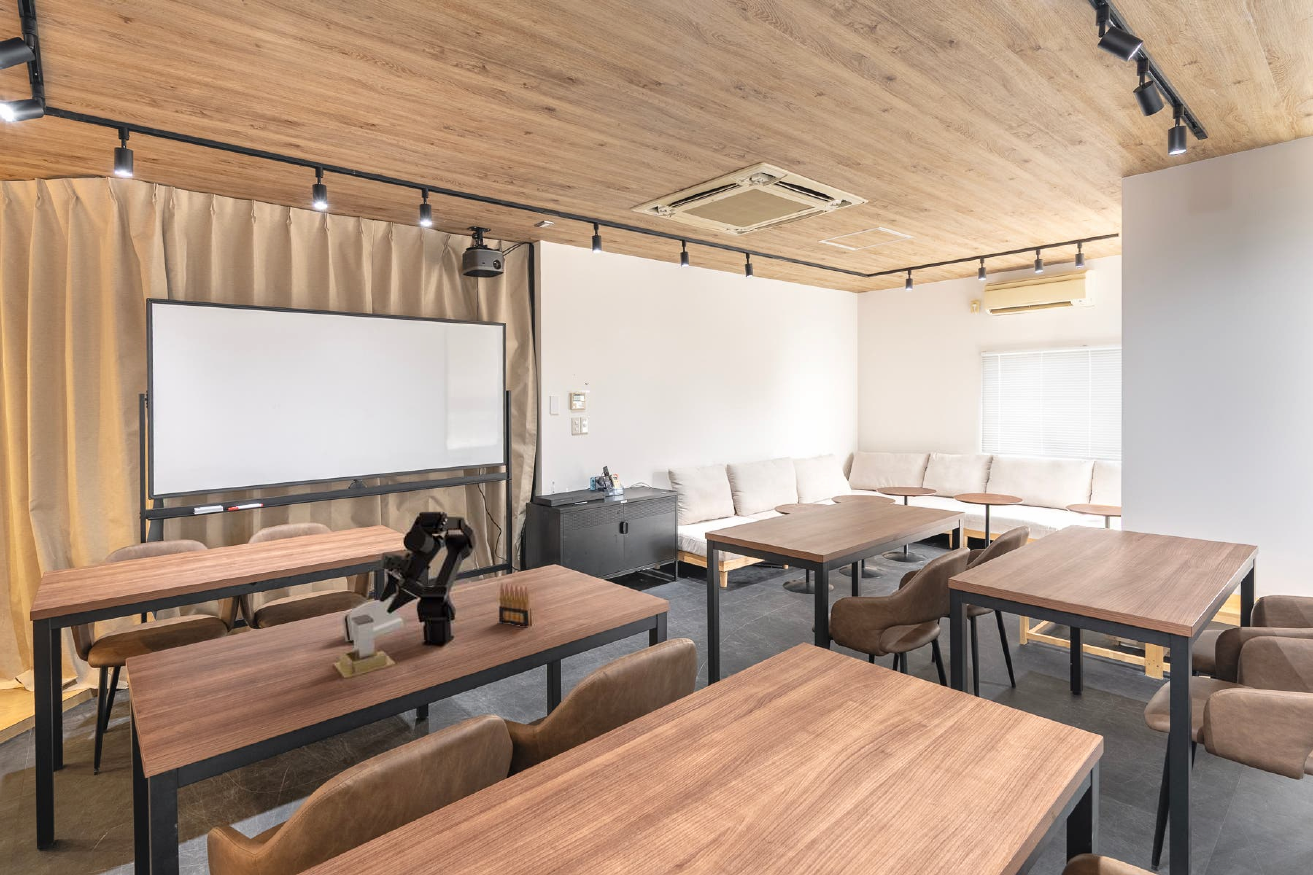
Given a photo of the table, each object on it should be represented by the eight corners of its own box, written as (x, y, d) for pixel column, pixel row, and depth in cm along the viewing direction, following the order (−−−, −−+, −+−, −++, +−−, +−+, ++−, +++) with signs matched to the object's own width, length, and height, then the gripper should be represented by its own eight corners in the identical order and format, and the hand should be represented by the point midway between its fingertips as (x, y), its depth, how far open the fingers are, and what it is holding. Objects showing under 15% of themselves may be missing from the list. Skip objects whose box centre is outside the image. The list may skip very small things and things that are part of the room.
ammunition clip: (532, 625, 191) (530, 585, 190) (528, 627, 189) (527, 587, 188) (502, 620, 195) (501, 581, 194) (498, 622, 193) (497, 583, 192)
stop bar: (369, 657, 168) (367, 614, 167) (375, 664, 164) (373, 619, 163) (354, 661, 165) (351, 617, 165) (359, 668, 161) (357, 623, 160)
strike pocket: (382, 652, 172) (382, 641, 172) (395, 664, 164) (394, 653, 164) (333, 664, 165) (333, 654, 165) (344, 678, 157) (344, 667, 156)
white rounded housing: (356, 644, 178) (346, 609, 179) (346, 647, 180) (336, 612, 181) (406, 625, 193) (396, 592, 194) (396, 627, 195) (387, 595, 196)
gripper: (389, 532, 176) (351, 581, 172) (405, 549, 161) (364, 603, 157) (422, 553, 182) (386, 601, 178) (441, 571, 166) (402, 624, 162)
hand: (384, 606), depth 168 cm, fingers open, 9 cm apart
